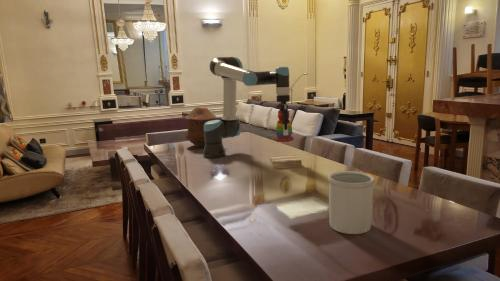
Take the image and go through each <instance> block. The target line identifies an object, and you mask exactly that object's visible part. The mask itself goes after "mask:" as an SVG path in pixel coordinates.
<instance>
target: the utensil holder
mask: <svg viewBox="0 0 500 281" xmlns="http://www.w3.org/2000/svg"><path fill="white" fill-rule="evenodd" d="M327 177H328V178H327V179H328V200H329V201H328V215H329V217H328V218H329V220H328V221H329V226H330V228H331V229H333V230H334V231H336V232H339V233H342V234H347V235H361V234H364V233H367V232H369V231H370V230H371V228H372V218H373V217H372V216H373V201H374V200H373V196H374V184H375V177H374V176H373V175H371V174H368V173H366V172H361V171H353V170H352V171H351V170H349V171H348V170H343V171H334V172H332V173H329V175H328V176H327Z"/></svg>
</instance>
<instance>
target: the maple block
mask: <svg viewBox="0 0 500 281" xmlns="http://www.w3.org/2000/svg"><path fill="white" fill-rule="evenodd" d="M269 163H270V165H271V167H272V169H286V168H302V160H301V159H300V157H298V156H297V154H284V155H282V154H281V155H269Z"/></svg>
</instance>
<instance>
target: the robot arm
mask: <svg viewBox="0 0 500 281" xmlns="http://www.w3.org/2000/svg"><path fill="white" fill-rule="evenodd" d="M243 66H244V65H243V62H242V61H241V60H240V58H238V57H234V56H225V57H224V56H217V57H214V58H213V59H212V60H211V61H210V63H209V71H210V72H211V74H212V75H214V76H217V77H221V79H222V80H223V96H222V97H223V100H222V101H223V102H222V103H223V104H222V105H223V108H222V109H223V110H222V111H223V112H222V114H223V115H222V116H221V117H220V119H215V120H212V121H208V122H206V123H205V124H204V137H205V147H203V152H202V155H203V156H202V157H203V158H206V159H207V158H208V159H216V158H222V157H224V156H226V152H227V151H226V150H225V147H224V144H223V139H227V138H228V139H229V138H234V137H237V136H239V135H240V134H241V131H242V123H241V121H240V119H239V117H238V116H237V81H238V82H241V83H243V84H244V86H247V87H253V86H266V85H275V90H276V93H275V94H276V102H277V103H279V110H280V111H281V113H282V115H283V123H282V124H283V135H288V123H289V121H290V119H288V110H289V108H288V107H289V106H288V104H287V102H288V103H289V102H290V101H291V97H290V96H291V95H290V91H291V88H290V68H289V67H288V66H277V67H275V70H272V71H271V70H269V71H265V70H264V71H253V70H249V69H245V68H243Z"/></svg>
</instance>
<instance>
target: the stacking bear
mask: <svg viewBox="0 0 500 281" xmlns="http://www.w3.org/2000/svg"><path fill="white" fill-rule="evenodd" d="M277 118H278V120H277V122H276V124H275V125H276V126H275V133H276V136H275V138H274V140H275V142H278V143H289V142H293V140H294V137H293V136H292V133H293V126H292V122H291V121H290V110H289V109H288V120H289V123H288V135H283V124H282V123H283V115H282V113H281V111H280V109H279V110H278V111H277Z"/></svg>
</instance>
